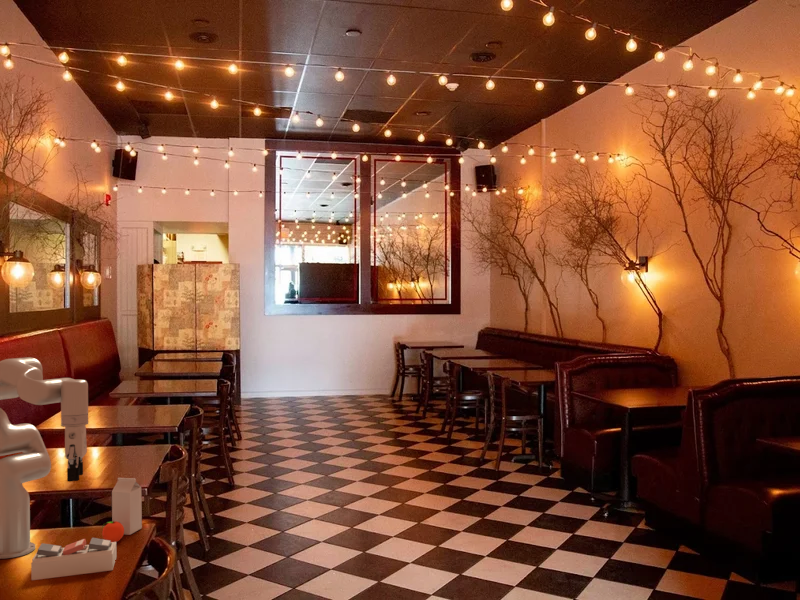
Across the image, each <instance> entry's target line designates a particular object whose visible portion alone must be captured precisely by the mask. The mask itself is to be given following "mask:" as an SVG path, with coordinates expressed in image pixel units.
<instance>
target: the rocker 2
mask: <svg viewBox="0 0 800 600" xmlns="http://www.w3.org/2000/svg"><path fill="white" fill-rule="evenodd" d="M110 542H111V540H105V539H104V538H97V537H91V539H90V542H89V544H88V545H89V547H88V548H90V549H97V550H108V548H109V546H110Z"/></svg>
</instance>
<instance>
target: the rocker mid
mask: <svg viewBox="0 0 800 600" xmlns="http://www.w3.org/2000/svg"><path fill="white" fill-rule="evenodd" d="M85 545H87V540H86V538H82V539H80V540H77V541H75V542H72V543H69V544H67V545H65V547H63V548H64V550H63V554H64V555H69V554H71V553H74V552H76V551H79V550H82V549H84V547H85Z"/></svg>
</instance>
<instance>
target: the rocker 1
mask: <svg viewBox="0 0 800 600" xmlns="http://www.w3.org/2000/svg"><path fill="white" fill-rule="evenodd" d="M61 548H62V545H56V544H50V543H43V542H42V543H41V544H40V546H39V547H38V549H37V550H36V553H37V554H39V555H46V556H58V554H59V552H60V550H61Z"/></svg>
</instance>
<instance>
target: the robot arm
mask: <svg viewBox="0 0 800 600" xmlns="http://www.w3.org/2000/svg"><path fill="white" fill-rule="evenodd" d="M43 370H44V369H43V365H42V363H41V361H39V360H38V359H37V358H34V357H15V358H14V357H13V358H5V359H3V360H0V400H1V401H2V400H8V399H15V398H16V399H17V398H19V399H21V400H22V401H25V402H26V403H29V404H32V405H36V406H43V405H50V404H57V403H58V404H59V403H60V413H61V414H60V418H61V419H60V424H61V425H60V426H61V427H64V453H65V454H64V457H65V459H67V469H66V473H67V475H66V478H67V480H66V481H67V482H78V481H79V480H80V476H82V475H83V474H84V461H83V460H84V459H83V458H84V457H85V456H86V454H87V451H88V446H87V429H86V426H87V425H89V383H88V381H87V380H86V379H74V378H71V377H60V378H51V379H50V378H49V379H44V376H43V375H44V374H43ZM40 433H41V432H40V431H39V430H38V428H37V427H36V426H35V425H33V424H31V423H18V424H12V423H11V421H10V420H9V417H8V415H7V413H6V411H5V410H3V408H1V407H0V457H2V456H3V458H0V559H1V560H2V559H12V558H17V557H22V556H25V555H27V554H30V553H32V552H33V551H35V550H36V544H35V543H34V542H31V510H30V509H31V506H30V505H31V504H30V503H31V502H30V500H31V498H30V497H31V496H30V493H29V492H28V490H27V489H26V488H25V486H24V485H23V484H24V483H27V482H28V483H29V482H31V481H36V480H39V479H42V478H45V477H47V476H48V475H49V474H50V472H51V469H52V462H51V457H50V454H49V452H48V450H47V447H46V445H45V442H44V441H43V437H42V436H41V434H40ZM17 453H18V454H17ZM12 454H14V455H12ZM7 455H8V456H7ZM5 456H6V457H5Z"/></svg>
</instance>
